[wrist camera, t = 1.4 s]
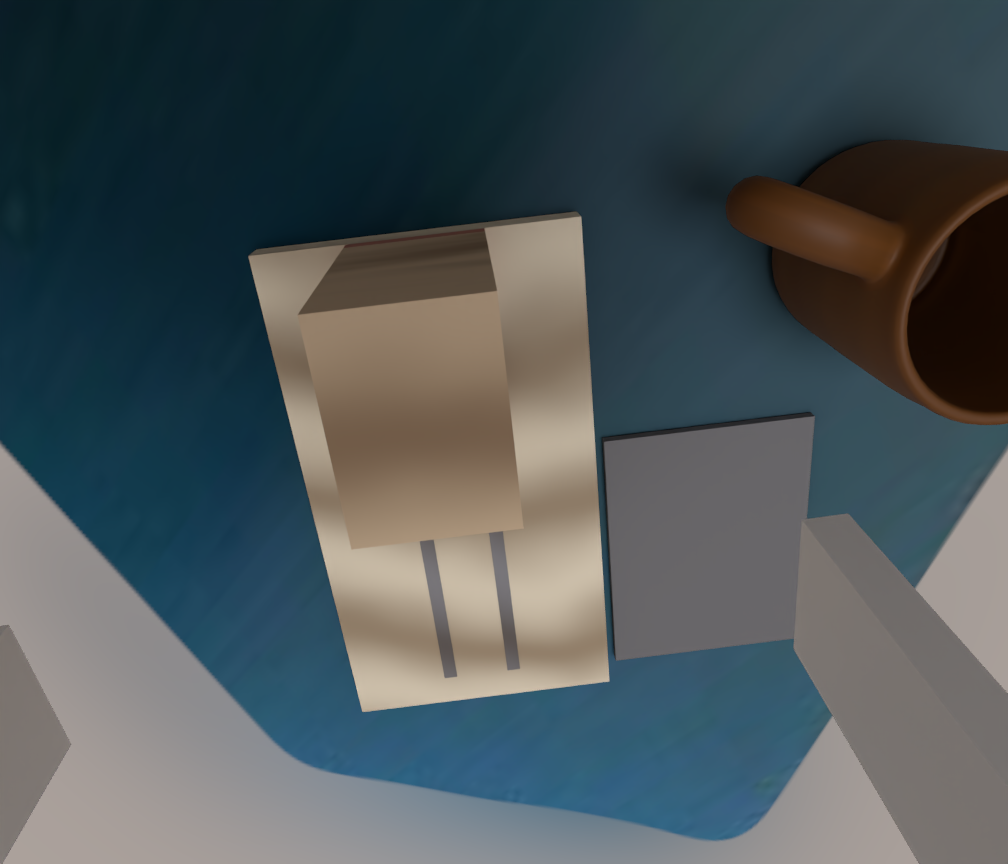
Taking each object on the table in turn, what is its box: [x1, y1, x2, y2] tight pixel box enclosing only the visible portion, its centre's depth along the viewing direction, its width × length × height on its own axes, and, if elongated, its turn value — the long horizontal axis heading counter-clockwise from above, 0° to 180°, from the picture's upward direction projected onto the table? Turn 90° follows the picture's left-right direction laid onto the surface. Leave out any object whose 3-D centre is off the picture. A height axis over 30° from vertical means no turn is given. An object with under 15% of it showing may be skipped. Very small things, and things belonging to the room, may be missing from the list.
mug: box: [726, 140, 1008, 425], centre depth 24 cm, size 12×8×9 cm, turn 72°
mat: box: [602, 413, 815, 660], centre depth 34 cm, size 12×9×1 cm
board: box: [248, 211, 609, 712], centre depth 32 cm, size 22×12×1 cm, turn 6°
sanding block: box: [297, 228, 524, 550], centre depth 24 cm, size 7×5×9 cm
